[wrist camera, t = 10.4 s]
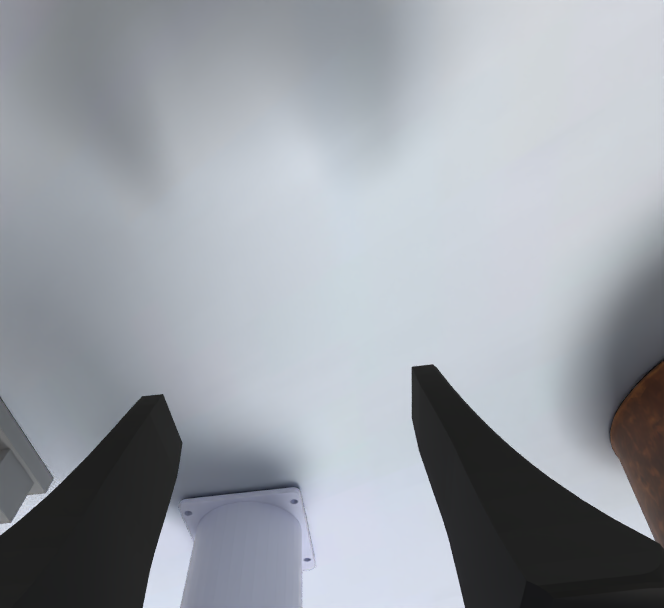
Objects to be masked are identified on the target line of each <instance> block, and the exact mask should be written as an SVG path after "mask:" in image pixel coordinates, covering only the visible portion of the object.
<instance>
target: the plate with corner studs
mask: <svg viewBox="0 0 664 608" xmlns="http://www.w3.org/2000/svg"><path fill="white" fill-rule="evenodd" d="M52 481H53V477H52V476H51V474H50V473H49V471H48V470H47V468H46V467H45V465H44V464H43V462H42V461H41V459H40V458H39V456H38V454H37V453H36V451H35V450H34V448H33V447H32V445H31V444H30V442H29V441H28V439H27V438H26V436H25V435H24V433H23V432H22V430H21V429H20V427H19V426H18V424H17V423H16V421H15V420H14V418H13V417H12V415H11V414H10V412H9V410H8V409H7V407H6V406H5V404H4V403H3V401H2V400H1V398H0V524H3V523H11V522H12V520H13V519H14V517H15V515H16V513H17V512H18V510H19V508H20V507H21V505H22V503H23V502H24V500H25V498H26V496H27V495H33V494H42V493H46V492H47V490H48V488H49V486H50V485H51V483H52Z"/></svg>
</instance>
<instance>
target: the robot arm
mask: <svg viewBox="0 0 664 608" xmlns="http://www.w3.org/2000/svg"><path fill="white" fill-rule="evenodd" d="M412 421H413V425H414V430H415V435H416V439H417V443H418V448H419V452H420V455H421V458H422V461H423V464H424V466H425V469H426V472H427V475H428V478H429V481H430V484H431V487H432V490H433V493H434V496H435V498H436V501H437V504H438V507H439V510H440V513H441V516H442V519H443V522H444V525H445V528H446V532H447V535H448V538H449V542H450V546H451V550H452V554H453V559H454V563H455V567H456V571H457V575H458V579H459V583H460V588H461V592H462V596H463V601H464V605H465V608H664V548H663V547H662V546H661V544H659V543H657V542H656V541H654V540H652V539H650V538H648V537H646V536H644V535H643V534H641V533H639V532H637V531H635V530H633V529H631V528H630V527H628V526H626V525H624V524H622V523H620V522H618V521H617V520H615V519H613V518H611V517H610V516H608V515H606V514H605V513H603V512H601V511H600V510H598V509H596V508H595V507H593V506H591V505H590V504H588V503H587V502H585V501H583V500H582V499H580V498H579V497H577V496H576V495H574V494H573V493H571V492H570V491H569V490H567V489H566V488H564V487H563V486H561V485H560V484H558V483H557V482H555V481H554V480H552V479H551V478H550V477H548V476H547V475H546V474H544V473H543V472H542V471H540V470H539V469H538V468H536V467H535V466H534V465H532V464H531V463H530V462H529V461H527V460H526V459H525V458H524V457H523V456H521V455H520V454H519V453H518V452H516V451H515V450H514V449H513V448H512V447H511V446H510V445H508V444H507V443H506V442H505V441H504V440H503V439H502V438H501V437H500V436H499V435H497V434H496V433H495V432H494V431H493V430H492V429H491V428H490V427H489V426H488V425H487V424H486V423H485V422H484V421H483V420H482V419H481V418H480V417H479V416H478V415H477V414H476V413H475V412H474V411H473V410H472V409H471V407H470V406H469V405H468V404H467V403H466V402H465V401H464V400H463V399H462V398H461V397H460V395H459V394H458V393H457V392H456V391H455V390H454V389H453V387H452V386H451V385H450V384H449V383H448V381H447V380H446V379H445V378H444V376H443V375H442V374H441V373H440V371H439V370H438V369H437V367H435V366H434V365H424V366H415V367H412ZM181 449H182V441H181V438H180V436H179V433H178V431H177V428H176V426H175V423H174V421H173V418H172V416H171V413H170V411H169V408H168V406H167V403H166V401H165V398H164V395H163V394H160V395H151V396H142V397H141V398H140V399H139V400H138V401H137V402H136V404H135V405H134V406H133V407H132V408H131V409H130V410H129V411H128V412H127V414H126V415H125V416H124V417H123V418H122V419H121V420H120V421H119V423H118V424H117V425H116V426H115V427H114V428H113V429H112V430H111V432H110V433H109V434H108V435H107V436H106V437H105V438H104V439H103V440H102V441H101V442H100V444H99V445H98V446H97V447H96V448H95V449H94V450H93V451H92V452H91V453H90V454H89V455H88V456H87V457H86V458H85V459H84V460H83V461H82V462H81V463H80V464H79V466H78V467H77V468H76V469H75V470H74V471H73V472H72V473H71V474H70V475H69V476H68V477H67V478H66V479H65V480H64V481H63V482H62V483H61V484H60V485H59V486H58V487H56V488H55V489H54V490H53V491H52V492H51V493H50V494H49V495H48V496H47V497H46V498H45V499H43V500H42V501H41V502H40V503H39V504H38V505H37V506H36V507H34V508H33V509H32V510H31V511H30V512H29V513H28V514H26V515H25V516H24V517H23V518H22V519H20V520H19V521H18V522H17V523H16V524H14V525H13V526H12V527H11V528H9V529H8V530H7V531H5V532H4V533H3V534H2V535H0V608H143V603H144V598H145V593H146V588H147V583H148V578H149V572H150V568H151V564H152V560H153V557H154V553H155V549H156V546H157V543H158V539H159V536H160V533H161V529H162V526H163V523H164V519H165V516H166V513H167V509H168V506H169V503H170V499H171V496H172V492H173V489H174V486H175V482H176V478H177V474H178V468H179V462H180V456H181ZM178 508H179V511H180V513H181V515H182V517H183V519H184V522H185V524H186V526H187V528H188V530H189V533H190V535H191V537H192V539H193V541H194V544H193V549H192V554H191V558H190V563H189V568H188V573H187V577H186V582H185V587H184V592H183V596H182V601H181V606H180V608H302V571H308V570H312V569H314V568H315V566H316V565H315V557H314V553H313V548H312V543H311V538H310V534H309V529H308V524H307V520H306V515H305V510H304V505H303V501H302V496H301V491H300V490H299V489H298V488H295V487H290V488H281V489H272V490H263V491H254V492H245V493H235V494H226V495H217V496H208V497H199V498H190V499H183V500H181V501H180V503H179V507H178Z"/></svg>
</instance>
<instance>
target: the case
mask: <svg viewBox="0 0 664 608" xmlns="http://www.w3.org/2000/svg"><path fill="white" fill-rule="evenodd" d="M610 440H611V445H612V448H613V450H614V452H615V454H616V455H617V457H618V458H619V459H620V462H621V464H622V466H623V468H624V471H625V473H626V475H627V478H628V480H629V482H630V485H631V487H632V489H633V492H634V494H635V496H636V498H637V501H638V503H639V505H640V507H641V510H642V512H643V514H644V516H645V519H646V521H647V523H648V525H649V528H650V530H651V532H652V534H653V537H654V539H655V541H656V542H657V543H659V544H661V546H662V547H663V548H664V360H663V361H662V362H661V363H660V364H658V365H657V366H656V367H655V368H654V369H652V370H651V371H650V372H649V373H648V374H647V375H646V376H645V377H644V378H643V379H642V380H641V381H640V382H639V383H638V384H637V385H636V386H635V387H634V389H633V390H632V391H631V392H630V393H629V395H628V396H627V397H626V398H625V400H624V401H623V403H622V404H621V406H620V407H619V409H618V411H617V412H616V414H615V416H614V419H613V422H612V426H611V431H610Z"/></svg>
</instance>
